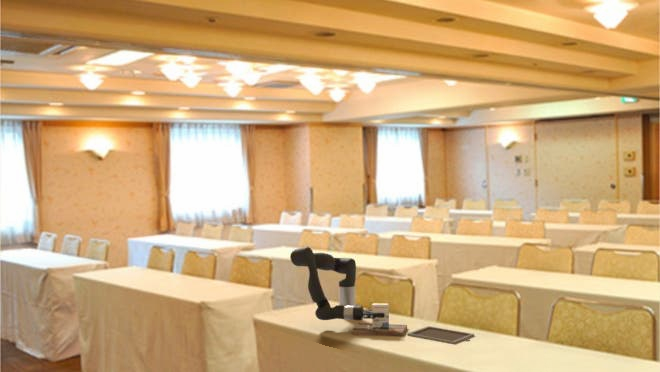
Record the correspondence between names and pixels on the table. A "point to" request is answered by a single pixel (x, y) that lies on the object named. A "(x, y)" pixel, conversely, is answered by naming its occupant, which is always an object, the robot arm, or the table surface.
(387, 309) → the ink box
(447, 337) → the grey framed brown panel
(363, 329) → the walnut board
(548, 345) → the table surface
